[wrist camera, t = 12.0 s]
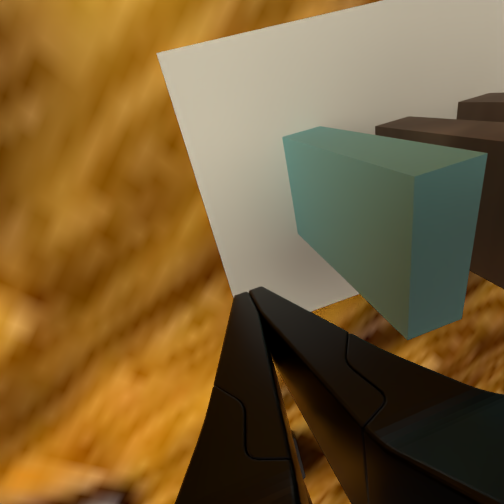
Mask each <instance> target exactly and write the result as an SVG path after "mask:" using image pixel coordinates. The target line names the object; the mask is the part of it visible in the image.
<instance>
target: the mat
mask: <svg viewBox="0 0 504 504" xmlns="http://www.w3.org/2000/svg"><path fill="white" fill-rule="evenodd" d="M157 56H158V60H159V63H160V66H161V69H162V72H163V76H164V79H165V82H166V85H167V88H168V91H169V95H170V98H171V101H172V104H173V107H174V110H175V114H176V117H177V120H178V123H179V126H180V130H181V133H182V136H183V139H184V142H185V145H186V149H187V152H188V155H189V158H190V161H191V165H192V168H193V171H194V174H195V177H196V180H197V184H198V187H199V190H200V193H201V196H202V199H203V203H204V206H205V209H206V212H207V215H208V219H209V222H210V225H211V228H212V231H213V234H214V238H215V241H216V244H217V247H218V250H219V253H220V257H221V260H222V263H223V266H224V269H225V273H226V276H227V279H228V282H229V285H230V288H231V292H232V295H233V298H234V296H235V295H237V294H240V293H243V292H248V293H249V290H251V289H254V288H257V287H260V286H262V287H264V288H266V289H268V290H270V291H272V292H274V293H276V294H278V295H279V296H281V297H283V298H285V299H287V300H289V301H291V302H293V303H294V304H296V305H298V306H300V307H302V308H304V309H306V310H308V311H309V312H311V311H314V310H317V309H319V308H322V307H325V306H328V305H330V304H333V303H336V302H338V301H341V300H344V299H347V298H349V297H352V296H355V295H358V294H359V293H358V292H357V291H356V290H355V289H354V288H353V287H352V286H351V285H350V284H349V283H348V282H347V281H346V280H345V279H344V278H343V277H342V276H341V275H340V274H339V273H338V272H337V271H336V270H335V269H334V268H333V267H332V266H331V265H329V264H328V263H327V262H326V261H325V260H324V259H323V258H322V257H321V256H320V255H319V254H318V253H317V252H316V251H315V250H314V249H313V248H312V247H311V246H310V245H309V244H308V243H307V242H306V241H305V240H304V239H303V238H302V237H301V236H300V235H299V234H298V231H297V225H296V219H295V213H294V207H293V201H292V195H291V188H290V182H289V176H288V170H287V164H286V158H285V152H284V146H283V139H282V137H283V136H287V135H290V134H294V133H297V132H301V131H305V130H308V129H312V128H315V127H319V126H322V127H329V128H335V129H341V130H347V131H353V132H360V133H366V134H372V135H375V126H377V125H381V124H384V123H388V122H391V121H395V120H398V119H401V118H405V117H408V116H413V117H428V118H444V119H456V118H457V108H458V102H460V101H463V100H467V99H470V98H474V97H477V96H481V95H484V94H487V93H504V0H383V1H379V2H374V3H370V4H366V5H361V6H357V7H353V8H349V9H344V10H340V11H336V12H331V13H327V14H323V15H318V16H314V17H310V18H306V19H301V20H297V21H293V22H288V23H284V24H280V25H275V26H271V27H267V28H263V29H258V30H254V31H250V32H245V33H241V34H237V35H232V36H228V37H224V38H220V39H215V40H211V41H207V42H202V43H198V44H194V45H189V46H185V47H181V48H177V49H172V50H168V51H164V52H159V53H157Z"/></svg>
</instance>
